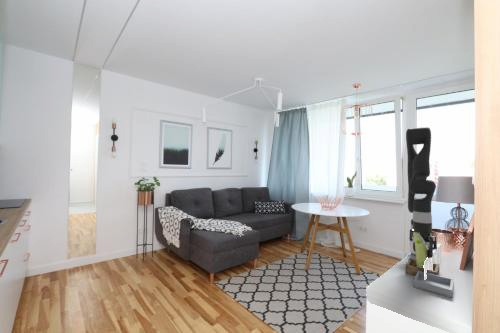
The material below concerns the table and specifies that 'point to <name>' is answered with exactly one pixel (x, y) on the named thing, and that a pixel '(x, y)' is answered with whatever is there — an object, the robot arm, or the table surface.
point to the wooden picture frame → (413, 269)
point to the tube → (420, 250)
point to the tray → (434, 284)
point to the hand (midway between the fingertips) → (422, 254)
